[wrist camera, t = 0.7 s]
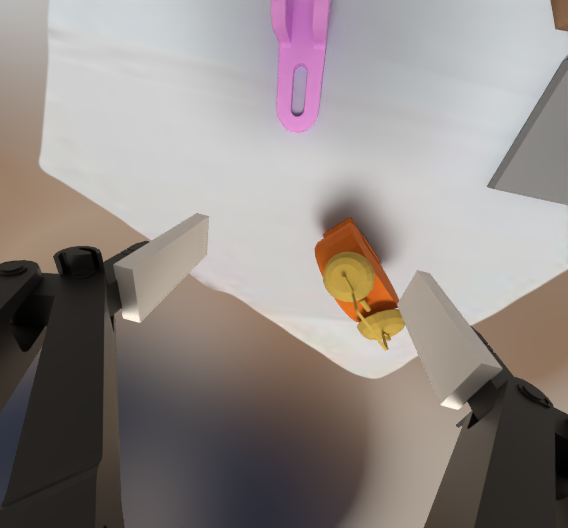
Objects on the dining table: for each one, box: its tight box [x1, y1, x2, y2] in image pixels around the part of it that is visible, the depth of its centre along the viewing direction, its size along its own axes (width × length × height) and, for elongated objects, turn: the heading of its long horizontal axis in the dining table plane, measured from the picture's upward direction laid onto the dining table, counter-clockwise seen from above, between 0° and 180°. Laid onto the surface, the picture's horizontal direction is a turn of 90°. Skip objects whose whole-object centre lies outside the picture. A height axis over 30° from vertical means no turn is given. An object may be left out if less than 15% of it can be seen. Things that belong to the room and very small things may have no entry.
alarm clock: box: [315, 217, 405, 351], centre depth 32 cm, size 13×6×20 cm, turn 38°
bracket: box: [271, 0, 331, 133], centre depth 28 cm, size 13×6×7 cm, turn 176°
